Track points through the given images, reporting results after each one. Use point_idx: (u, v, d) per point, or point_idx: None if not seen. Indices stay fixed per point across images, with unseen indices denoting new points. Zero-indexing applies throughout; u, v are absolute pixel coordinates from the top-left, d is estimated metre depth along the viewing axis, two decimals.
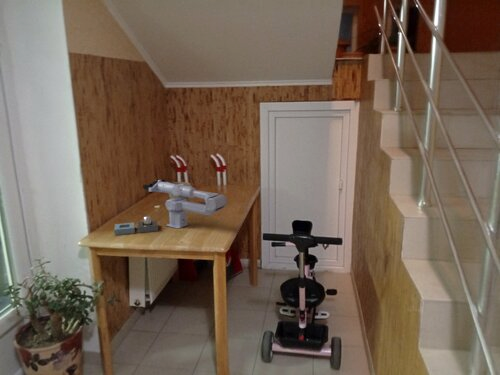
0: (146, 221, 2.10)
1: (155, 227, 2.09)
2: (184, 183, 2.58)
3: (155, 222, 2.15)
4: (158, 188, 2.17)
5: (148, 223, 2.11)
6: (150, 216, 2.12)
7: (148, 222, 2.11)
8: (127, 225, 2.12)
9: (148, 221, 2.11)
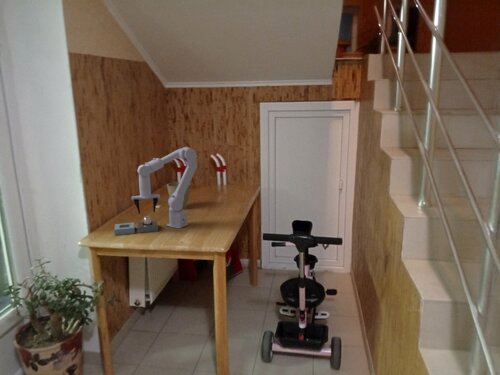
0: (146, 221, 2.10)
1: (155, 227, 2.09)
2: None
3: (155, 222, 2.15)
4: (150, 193, 2.10)
5: (148, 223, 2.11)
6: (150, 216, 2.12)
7: (148, 222, 2.11)
8: (127, 225, 2.12)
9: (148, 221, 2.11)
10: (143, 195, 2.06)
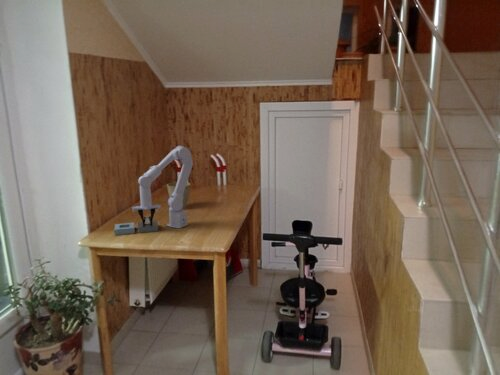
0: (146, 221, 2.10)
1: (155, 227, 2.09)
2: None
3: (155, 222, 2.15)
4: (151, 203, 2.11)
5: (148, 223, 2.11)
6: (150, 216, 2.12)
7: (148, 222, 2.11)
8: (127, 225, 2.12)
9: (148, 221, 2.11)
10: (144, 206, 2.07)
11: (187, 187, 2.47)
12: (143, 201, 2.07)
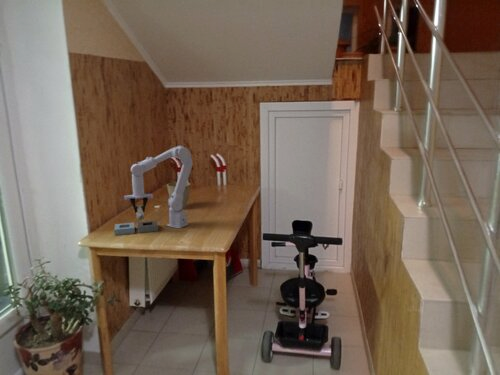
0: (138, 210, 2.08)
1: (155, 227, 2.09)
2: None
3: (155, 222, 2.15)
4: None
5: (140, 212, 2.08)
6: (142, 205, 2.10)
7: (140, 211, 2.08)
8: (127, 225, 2.12)
9: (140, 210, 2.08)
10: (136, 194, 2.05)
11: (187, 187, 2.47)
12: (135, 190, 2.05)
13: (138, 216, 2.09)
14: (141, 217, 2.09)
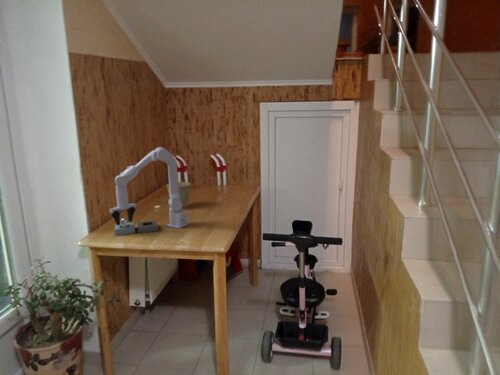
0: (125, 223, 2.07)
1: (155, 227, 2.09)
2: (184, 183, 2.58)
3: (155, 222, 2.15)
4: None
5: (127, 225, 2.08)
6: (126, 218, 2.10)
7: (127, 224, 2.08)
8: None
9: (126, 223, 2.08)
10: (123, 206, 2.04)
11: (187, 187, 2.47)
12: (122, 201, 2.04)
13: None
14: None
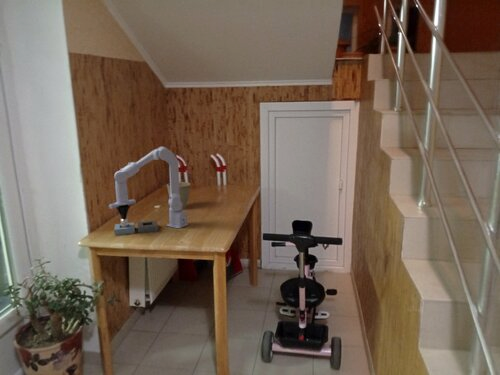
0: (125, 223, 2.07)
1: (155, 227, 2.09)
2: (184, 183, 2.58)
3: (155, 222, 2.15)
4: None
5: (127, 225, 2.08)
6: (126, 218, 2.10)
7: (127, 224, 2.08)
8: None
9: (126, 223, 2.08)
10: (123, 201, 2.04)
11: (187, 187, 2.47)
12: (122, 197, 2.03)
13: None
14: None
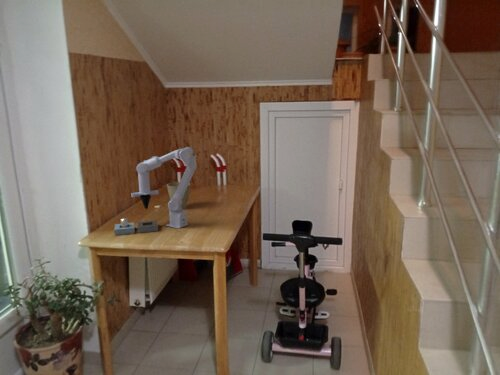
0: (125, 223, 2.07)
1: (155, 227, 2.09)
2: None
3: (155, 222, 2.15)
4: None
5: (127, 225, 2.08)
6: (126, 218, 2.10)
7: (127, 224, 2.08)
8: None
9: (126, 223, 2.08)
10: (143, 191, 2.13)
11: (187, 187, 2.47)
12: (143, 187, 2.12)
13: None
14: None
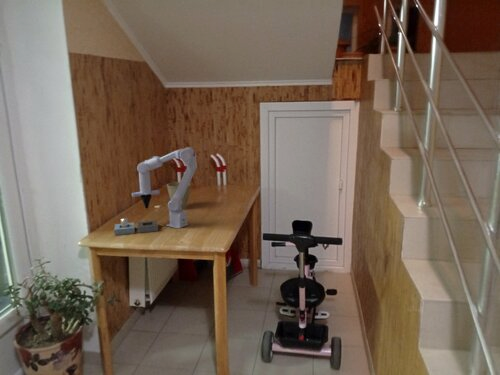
0: (125, 223, 2.07)
1: (155, 227, 2.09)
2: None
3: (155, 222, 2.15)
4: None
5: (127, 225, 2.08)
6: (126, 218, 2.10)
7: (127, 224, 2.08)
8: None
9: (126, 223, 2.08)
10: (144, 191, 2.13)
11: (187, 187, 2.47)
12: (143, 186, 2.12)
13: None
14: None
